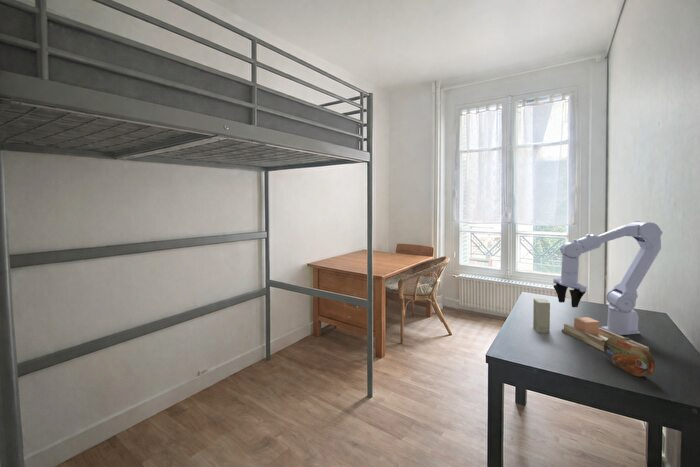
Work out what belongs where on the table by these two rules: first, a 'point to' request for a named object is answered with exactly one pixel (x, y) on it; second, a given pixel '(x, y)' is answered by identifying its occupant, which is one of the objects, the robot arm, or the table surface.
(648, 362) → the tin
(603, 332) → the chute
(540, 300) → the skincare box
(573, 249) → the robot arm
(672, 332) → the table surface
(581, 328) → the block
